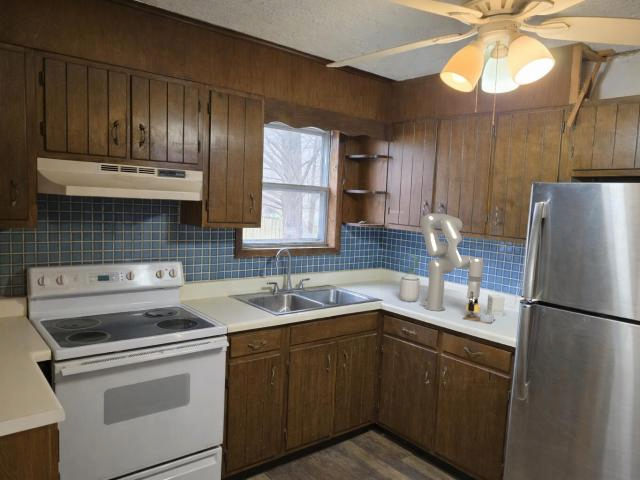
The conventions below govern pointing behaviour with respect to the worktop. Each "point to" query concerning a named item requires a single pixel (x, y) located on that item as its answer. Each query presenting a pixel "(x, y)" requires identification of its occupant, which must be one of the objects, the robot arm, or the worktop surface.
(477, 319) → the gear board
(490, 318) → the slate gear
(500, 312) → the supplement box
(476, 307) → the ochre gear
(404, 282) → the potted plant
